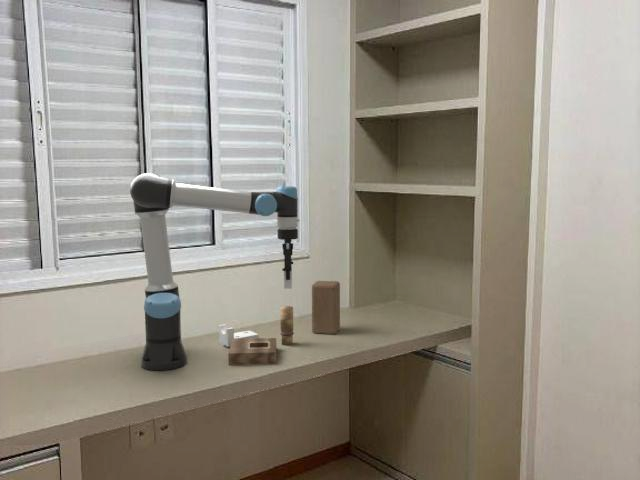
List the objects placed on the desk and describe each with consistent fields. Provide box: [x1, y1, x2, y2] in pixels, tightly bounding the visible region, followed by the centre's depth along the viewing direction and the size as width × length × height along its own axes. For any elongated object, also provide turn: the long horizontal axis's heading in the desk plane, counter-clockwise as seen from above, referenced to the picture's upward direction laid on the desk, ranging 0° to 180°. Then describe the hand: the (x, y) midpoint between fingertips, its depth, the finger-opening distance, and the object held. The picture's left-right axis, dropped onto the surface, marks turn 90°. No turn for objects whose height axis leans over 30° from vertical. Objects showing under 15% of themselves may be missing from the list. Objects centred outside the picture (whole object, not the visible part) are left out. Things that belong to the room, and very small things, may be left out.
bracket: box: [218, 324, 260, 348], centre depth 237 cm, size 13×7×8 cm, turn 124°
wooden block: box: [311, 280, 341, 335], centre depth 253 cm, size 10×10×20 cm
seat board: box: [227, 337, 277, 366], centre depth 220 cm, size 16×18×4 cm
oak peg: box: [279, 305, 295, 346], centre depth 235 cm, size 5×5×14 cm
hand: (288, 285), depth 233 cm, fingers open, 13 cm apart
